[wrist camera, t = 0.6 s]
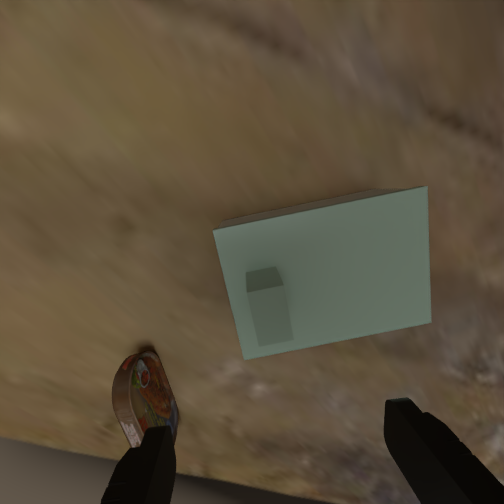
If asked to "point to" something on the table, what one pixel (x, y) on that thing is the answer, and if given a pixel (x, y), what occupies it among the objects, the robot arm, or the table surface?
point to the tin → (143, 397)
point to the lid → (328, 272)
